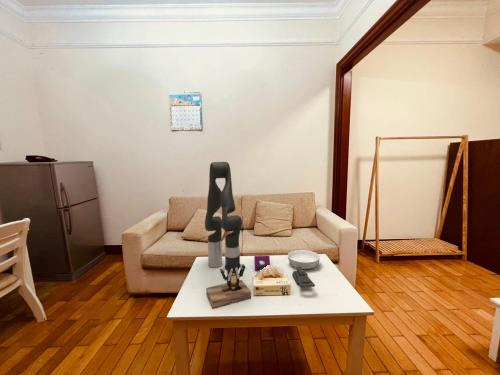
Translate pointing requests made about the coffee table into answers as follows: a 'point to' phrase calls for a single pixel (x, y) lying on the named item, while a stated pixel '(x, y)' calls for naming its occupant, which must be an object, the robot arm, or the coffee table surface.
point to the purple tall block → (257, 258)
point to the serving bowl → (303, 258)
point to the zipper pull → (302, 278)
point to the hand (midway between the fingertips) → (233, 285)
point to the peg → (233, 282)
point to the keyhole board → (227, 294)
